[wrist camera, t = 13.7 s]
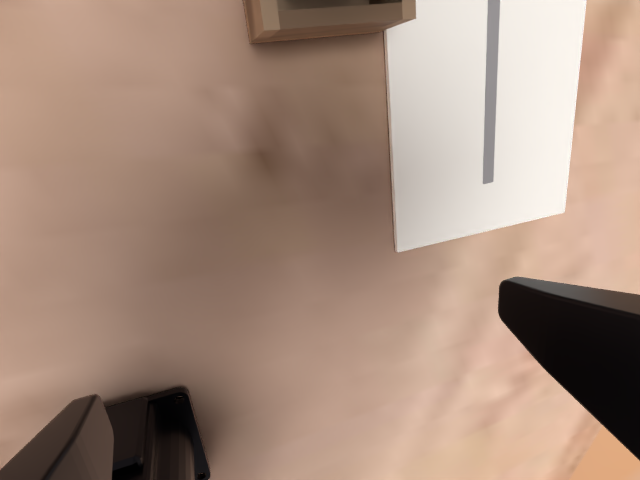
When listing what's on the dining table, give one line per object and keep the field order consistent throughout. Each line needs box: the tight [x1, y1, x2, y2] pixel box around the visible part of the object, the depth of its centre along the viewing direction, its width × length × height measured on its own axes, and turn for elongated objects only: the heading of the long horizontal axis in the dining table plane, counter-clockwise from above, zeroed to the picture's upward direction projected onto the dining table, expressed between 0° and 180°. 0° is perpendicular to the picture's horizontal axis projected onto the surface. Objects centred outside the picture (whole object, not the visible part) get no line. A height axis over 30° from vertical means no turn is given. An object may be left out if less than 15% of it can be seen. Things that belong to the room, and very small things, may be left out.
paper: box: [384, 0, 587, 253], centre depth 22 cm, size 16×12×1 cm
